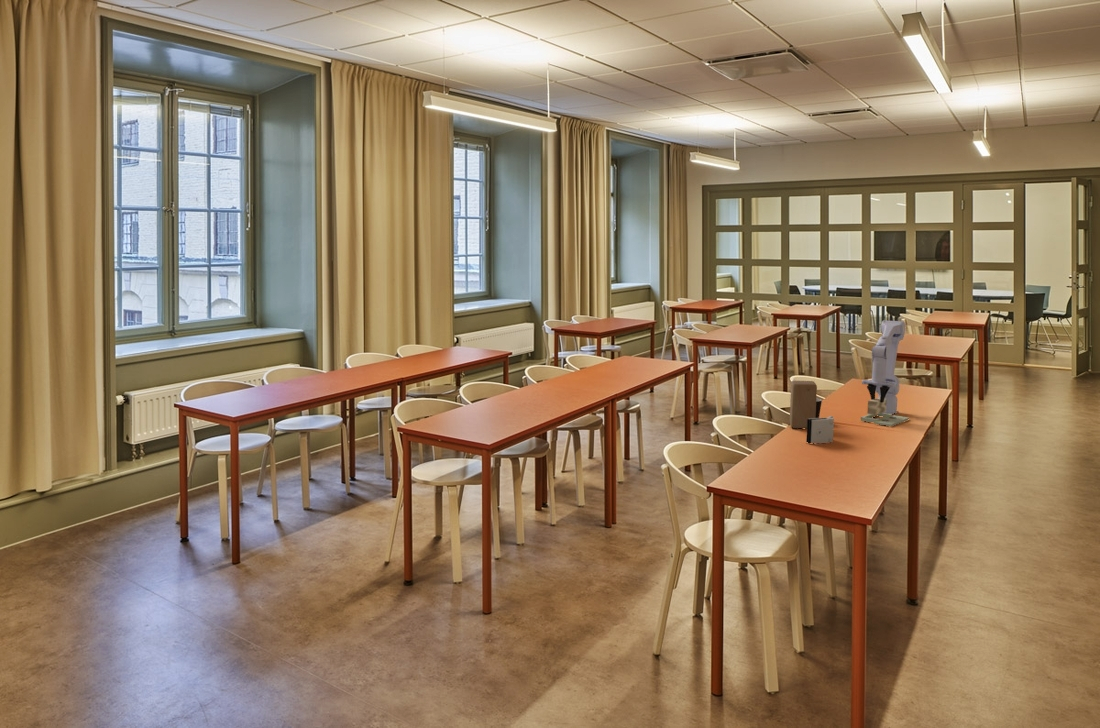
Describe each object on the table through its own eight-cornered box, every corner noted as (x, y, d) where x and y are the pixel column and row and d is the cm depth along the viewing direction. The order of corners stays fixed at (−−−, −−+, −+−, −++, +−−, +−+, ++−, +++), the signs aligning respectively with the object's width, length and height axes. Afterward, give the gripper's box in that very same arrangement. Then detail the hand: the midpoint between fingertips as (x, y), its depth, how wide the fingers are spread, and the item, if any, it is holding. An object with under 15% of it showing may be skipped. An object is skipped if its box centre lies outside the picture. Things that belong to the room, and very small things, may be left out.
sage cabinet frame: (877, 415, 384) (877, 411, 383) (909, 420, 373) (909, 415, 373) (858, 422, 370) (859, 417, 369) (890, 427, 359) (891, 422, 359)
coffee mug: (823, 423, 367) (824, 401, 366) (804, 423, 368) (805, 401, 366) (815, 417, 379) (816, 396, 378) (796, 417, 379) (797, 396, 378)
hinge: (830, 439, 337) (831, 415, 336) (840, 442, 333) (841, 418, 331) (804, 443, 331) (805, 418, 330) (813, 446, 327) (815, 421, 325)
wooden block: (815, 430, 354) (817, 384, 351) (791, 429, 356) (793, 383, 353) (812, 425, 364) (814, 380, 361) (789, 424, 366) (791, 380, 363)
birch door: (878, 410, 379) (879, 397, 378) (885, 411, 376) (886, 398, 376) (867, 413, 370) (868, 400, 370) (874, 414, 368) (875, 401, 367)
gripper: (859, 371, 373) (858, 400, 375) (891, 374, 363) (889, 404, 365) (866, 369, 378) (864, 398, 380) (897, 373, 368) (896, 402, 370)
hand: (877, 401), depth 373 cm, fingers closed on birch door, 3 cm apart
